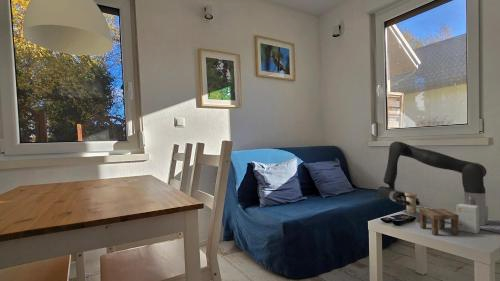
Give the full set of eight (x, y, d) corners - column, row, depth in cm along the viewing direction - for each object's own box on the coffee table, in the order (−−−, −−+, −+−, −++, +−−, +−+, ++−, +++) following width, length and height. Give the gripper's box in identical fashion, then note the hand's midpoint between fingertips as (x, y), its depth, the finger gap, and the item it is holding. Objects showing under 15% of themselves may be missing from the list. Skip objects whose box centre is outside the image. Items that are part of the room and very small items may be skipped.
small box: (479, 231, 136) (479, 205, 136) (476, 234, 132) (476, 208, 132) (460, 227, 142) (459, 203, 142) (456, 230, 138) (456, 205, 138)
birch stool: (413, 211, 157) (413, 192, 157) (419, 214, 151) (419, 194, 151) (403, 211, 157) (402, 192, 157) (409, 214, 151) (408, 194, 151)
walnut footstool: (442, 227, 144) (441, 208, 143) (459, 235, 132) (458, 215, 131) (419, 227, 144) (419, 209, 144) (434, 235, 132) (433, 215, 132)
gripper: (386, 191, 168) (400, 197, 151) (409, 190, 168) (426, 196, 151) (387, 203, 168) (401, 210, 151) (410, 202, 168) (427, 209, 151)
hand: (413, 203), depth 151 cm, fingers closed on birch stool, 4 cm apart
